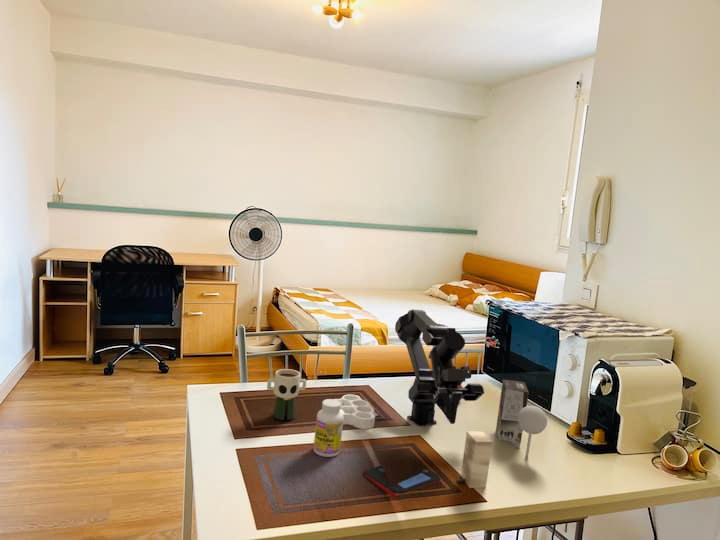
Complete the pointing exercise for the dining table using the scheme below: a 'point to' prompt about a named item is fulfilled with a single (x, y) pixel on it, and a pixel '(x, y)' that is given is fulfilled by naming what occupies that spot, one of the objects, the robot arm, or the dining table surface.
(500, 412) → the coffee box
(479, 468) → the white rectangular box
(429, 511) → the dining table surface
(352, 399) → the white cup cluster
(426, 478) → the game console
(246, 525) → the dining table surface
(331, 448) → the supplement bottle
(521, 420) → the lollipop
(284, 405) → the character mug
